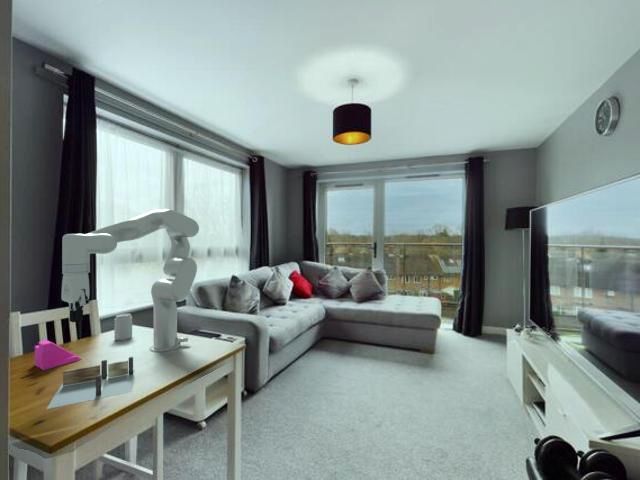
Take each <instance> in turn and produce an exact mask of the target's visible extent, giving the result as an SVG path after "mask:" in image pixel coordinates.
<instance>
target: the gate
mask: <svg viewBox="0 0 640 480" xmlns="http://www.w3.org/2000/svg"><path fill="white" fill-rule="evenodd" d="M97 375H101V364H96V365H90V366H83V367H78V368H72V369H67V370H66V369H65V370H63V371H62V383H63V386H66V385H71V384H77V383H82V382H88V381H93V380H96V376H97Z"/></svg>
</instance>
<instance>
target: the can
mask: <svg viewBox="0 0 640 480" xmlns="http://www.w3.org/2000/svg"><path fill="white" fill-rule="evenodd" d="M113 324H114V331H113V332H114V339H115V340H116V341H126V340H129V339H130V338H131V337H132V336H133V316H132V314H131V313H120V314H117V315H115V318H114V323H113Z"/></svg>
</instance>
